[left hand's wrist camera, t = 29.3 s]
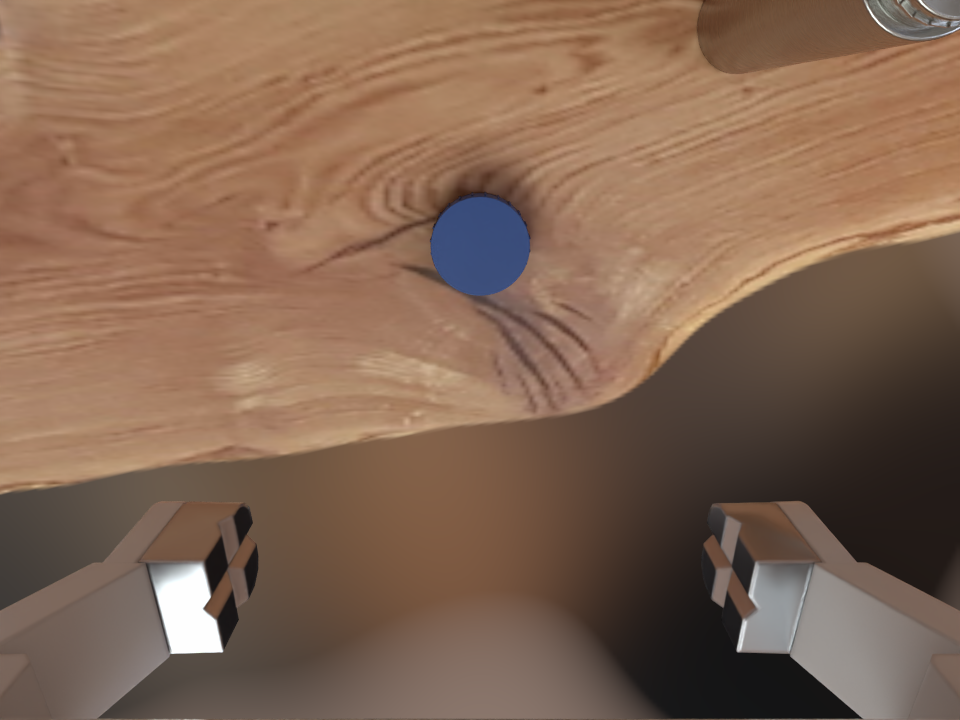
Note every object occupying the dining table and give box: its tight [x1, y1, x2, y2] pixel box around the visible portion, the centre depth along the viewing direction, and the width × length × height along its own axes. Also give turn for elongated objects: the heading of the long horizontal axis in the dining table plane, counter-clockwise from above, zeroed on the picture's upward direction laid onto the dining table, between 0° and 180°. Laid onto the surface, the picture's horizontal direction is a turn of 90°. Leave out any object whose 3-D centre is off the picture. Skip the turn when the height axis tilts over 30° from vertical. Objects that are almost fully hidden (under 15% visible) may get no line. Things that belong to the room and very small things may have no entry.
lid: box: [430, 192, 530, 295], centre depth 35 cm, size 6×6×2 cm
